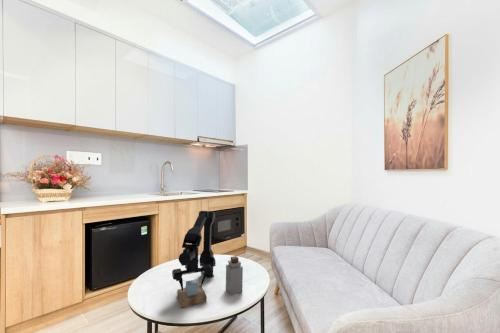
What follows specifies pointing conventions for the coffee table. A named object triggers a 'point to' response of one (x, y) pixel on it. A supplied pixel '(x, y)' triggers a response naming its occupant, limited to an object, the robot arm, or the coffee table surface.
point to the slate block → (191, 287)
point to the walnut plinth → (191, 297)
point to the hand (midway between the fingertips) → (191, 288)
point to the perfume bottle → (234, 276)
